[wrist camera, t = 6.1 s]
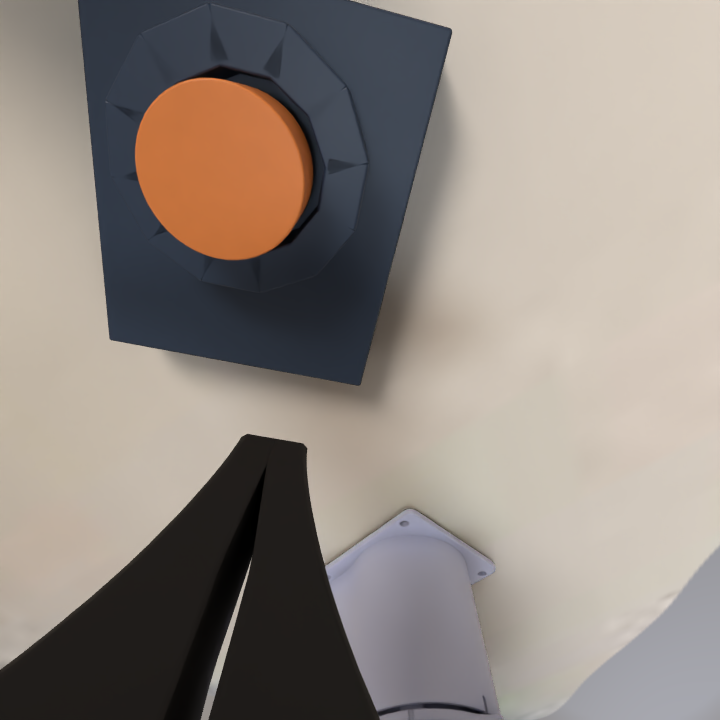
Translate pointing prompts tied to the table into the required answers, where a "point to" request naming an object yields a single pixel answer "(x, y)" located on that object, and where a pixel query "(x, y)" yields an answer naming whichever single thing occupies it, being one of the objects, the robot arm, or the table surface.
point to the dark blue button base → (330, 173)
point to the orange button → (223, 167)
